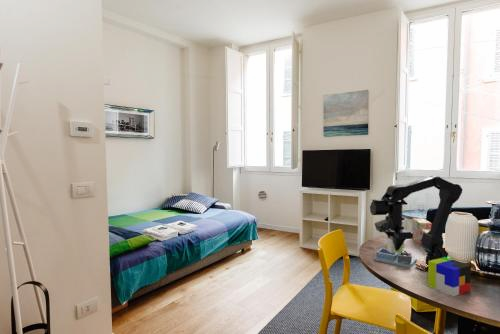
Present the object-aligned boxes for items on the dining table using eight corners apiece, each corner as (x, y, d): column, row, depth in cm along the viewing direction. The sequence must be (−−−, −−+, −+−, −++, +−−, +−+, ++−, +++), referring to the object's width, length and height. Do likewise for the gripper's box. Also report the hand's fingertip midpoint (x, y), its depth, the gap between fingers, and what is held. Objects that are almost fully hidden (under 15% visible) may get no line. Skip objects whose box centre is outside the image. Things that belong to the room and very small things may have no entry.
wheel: (411, 258, 146) (411, 253, 146) (411, 262, 141) (411, 257, 141) (397, 256, 149) (398, 251, 149) (397, 260, 144) (397, 255, 144)
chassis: (416, 260, 149) (416, 252, 149) (410, 268, 141) (410, 259, 140) (382, 253, 159) (382, 246, 159) (374, 259, 151) (374, 251, 151)
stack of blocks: (438, 250, 163) (439, 227, 162) (425, 250, 164) (426, 227, 163) (423, 238, 184) (423, 217, 183) (411, 238, 185) (412, 217, 184)
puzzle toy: (453, 296, 114) (453, 270, 114) (427, 285, 123) (428, 260, 123) (470, 290, 118) (470, 265, 118) (444, 280, 127) (445, 256, 127)
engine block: (397, 249, 140) (397, 234, 140) (402, 252, 136) (402, 237, 136) (386, 250, 140) (386, 235, 140) (391, 253, 136) (391, 237, 136)
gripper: (368, 210, 146) (367, 243, 147) (387, 220, 127) (387, 257, 128) (391, 209, 147) (390, 242, 148) (414, 219, 128) (413, 256, 129)
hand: (394, 249), depth 138 cm, fingers closed on engine block, 4 cm apart
